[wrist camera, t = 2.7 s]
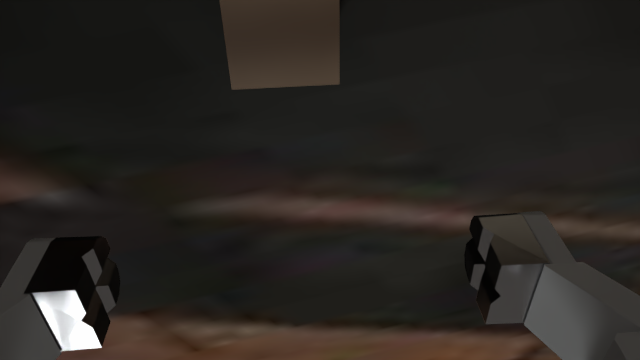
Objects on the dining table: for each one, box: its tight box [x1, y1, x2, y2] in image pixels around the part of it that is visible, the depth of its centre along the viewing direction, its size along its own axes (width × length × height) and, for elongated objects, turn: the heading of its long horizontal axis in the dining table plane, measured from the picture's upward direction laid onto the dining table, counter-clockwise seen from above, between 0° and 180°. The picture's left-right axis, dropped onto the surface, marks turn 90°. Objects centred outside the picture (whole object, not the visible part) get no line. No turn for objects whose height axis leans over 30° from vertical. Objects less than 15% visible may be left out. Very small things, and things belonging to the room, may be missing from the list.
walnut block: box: [220, 0, 339, 90], centre depth 25 cm, size 5×5×6 cm
